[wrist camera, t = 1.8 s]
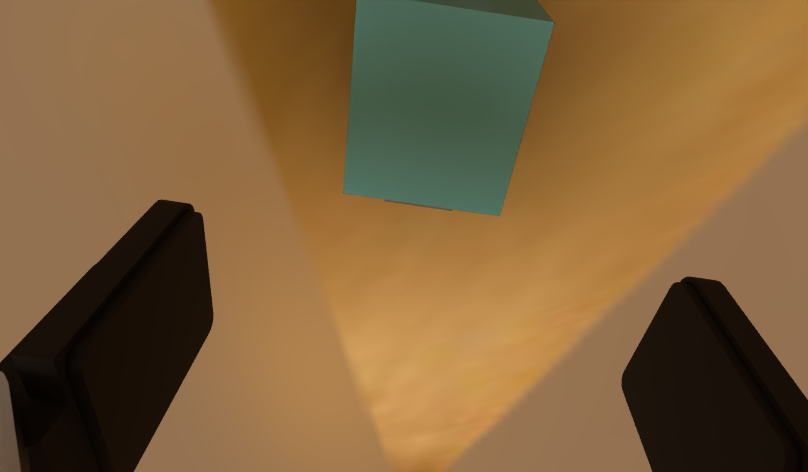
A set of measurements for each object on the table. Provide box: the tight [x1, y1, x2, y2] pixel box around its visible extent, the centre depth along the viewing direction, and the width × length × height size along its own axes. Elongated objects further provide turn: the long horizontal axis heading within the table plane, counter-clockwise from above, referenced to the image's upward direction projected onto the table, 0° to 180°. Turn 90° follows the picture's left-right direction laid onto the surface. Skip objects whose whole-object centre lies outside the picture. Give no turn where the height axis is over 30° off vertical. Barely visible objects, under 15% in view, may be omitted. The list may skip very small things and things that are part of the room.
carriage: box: [343, 0, 555, 216], centre depth 20 cm, size 7×6×6 cm
